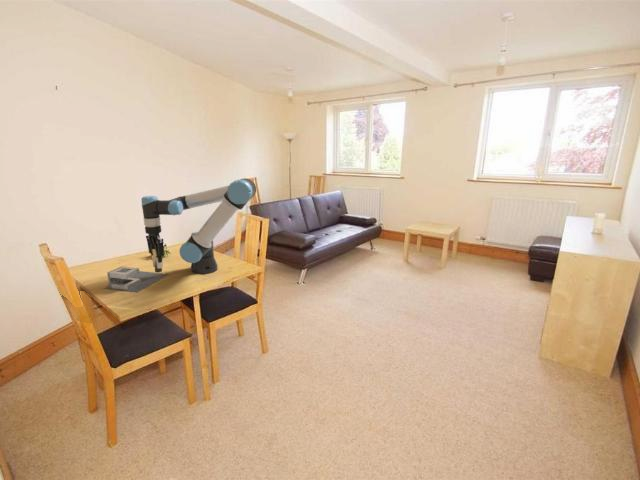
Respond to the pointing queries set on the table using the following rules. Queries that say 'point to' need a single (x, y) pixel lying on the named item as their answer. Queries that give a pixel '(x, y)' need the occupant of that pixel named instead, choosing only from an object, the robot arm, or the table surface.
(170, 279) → the table surface
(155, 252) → the pin
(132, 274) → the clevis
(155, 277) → the mat
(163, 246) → the passion flower
